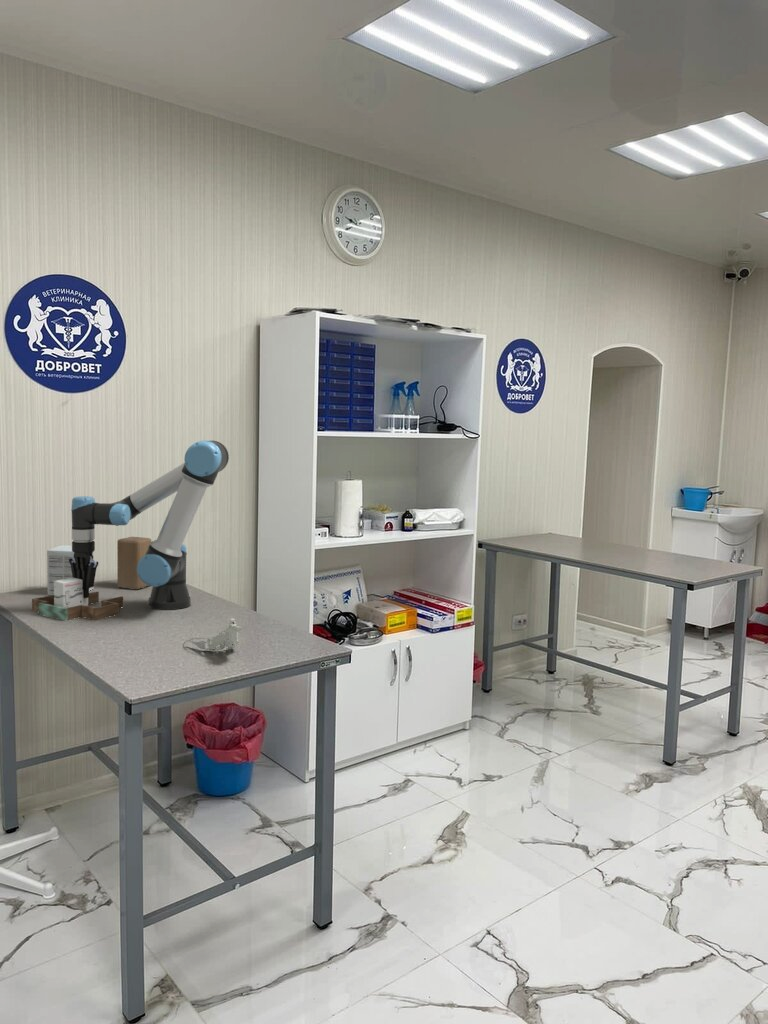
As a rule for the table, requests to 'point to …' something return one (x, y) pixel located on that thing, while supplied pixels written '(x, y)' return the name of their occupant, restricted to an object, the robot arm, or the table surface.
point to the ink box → (68, 592)
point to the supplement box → (59, 565)
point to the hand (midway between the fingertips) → (83, 606)
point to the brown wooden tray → (78, 608)
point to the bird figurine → (220, 639)
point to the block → (131, 561)
